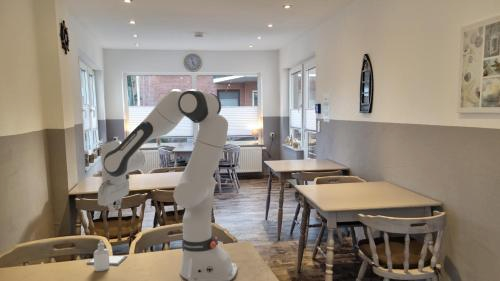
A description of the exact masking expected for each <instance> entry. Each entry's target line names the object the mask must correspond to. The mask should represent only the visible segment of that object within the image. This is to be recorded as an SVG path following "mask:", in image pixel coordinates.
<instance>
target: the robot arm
mask: <svg viewBox="0 0 500 281" xmlns="http://www.w3.org/2000/svg"><path fill="white" fill-rule="evenodd" d="M221 110H222V102H221V100H220V99H219V97H218V96H217V95H216V94H214V93H212V92H208V91H206V90H203V89H202V90H201V89H195V88H193V89H192V88H191V89H187V90H185V91H182V90H180V89H175V88H174V89H171V91H169V92H168V93H167V94H166V95H164V97H162V98H161V99H160V100H159V102H158V103H157V104H156V105H155V107H154V108H153V109H152V110H151V112H150V113H149V114H148V115H147V116H146V117H145V118H144V119H143V120H142V121H141V123H140V124H138V125H137V126H136V127H134V129H133V130H132V131H130V133H129V134H128V135H127V137H126V138H124V140H123V141H122V140H119V139H118V140H117V139H116V140H110V141H105V142H104V143H102V145H101V150H100V163H101V165H102V170H101V181H102V182H101V183H100V184H101V185H100V186H99V188H98V191H97V204H98V205H99V206H107V207H108V211H109V213H114V212H115V211H116V210H119V209H121V208H122V207H121V206H122V205H121V204H122V200H123V197H125V196H128V195H129V193H130V174H129V173H131V172H132V173H133V172H136V171H138V170H140V169H141V168H143V166H144V164H145V155H144V153H143V152H142V150H140V148H142V147H143V146H144V145H145V144H146V143H148V142H149V141H152V140H153V139H157V138H160V137H163V136H166V135H168V134H169V133H171V132H172V131H173V130H174V129H175V128H176V127H177V126H178V125H179V123H180V122H181V121H182V120H183V119H184V117H186V118H188V119H189V120H190V121H192V122H193V123H195V124H198V132H197V136H196V139H195V142H194V146H193V147H192V150H191V151H192V152H191V154H190V158H189V160H188V162H187V164H186V166H185V169H184V170H183V172H182V175H181V176H180V179H179V181H178V183H177V185H176V186H175V187H174V190H173V199H174V202H175V203H176V204H177V206H179V207H181V208H183V209H185V210H184V214H183V216H182V235H183V236H182V240H181V249H182V252H183V253H182V261H181V269H180V272H179V275H180V276H181V277H182V278H183V279H186V280H187V281H232V279H234V278H235V277H236V275H237V272H238V266H237V264H236V263H235V262H232V259H231V256H230V254H229V252H228V251H226V250H224V249H223V248H221V246H219V245H218V244H217V240H218V238H217V236H213V234H212V212H213V204H214V196H215V195H214V193H215V189H216V179H215V177H214V174H215V172H216V170H217V169H218V167H219V164H220V161H221V157H222V155H223V151H224V149H225V145H226V140H227V136H228V130H229V122H228V119H226V117H224V116H223V115H221V114H220V113H221ZM114 202H115V204H114Z"/></svg>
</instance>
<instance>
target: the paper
mask: <svg viewBox="0 0 500 281" xmlns="http://www.w3.org/2000/svg"><path fill="white" fill-rule="evenodd" d="M125 256H126V255H109V263H118V262H119V261H120V260H122V259H123V258H124V257H125ZM92 259H93V258H92ZM90 260H91V259H90ZM90 260H89V261H90ZM90 262H93V263H94V259H93V260H91V261H90Z"/></svg>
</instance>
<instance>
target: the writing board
mask: <svg viewBox="0 0 500 281" xmlns="http://www.w3.org/2000/svg"><path fill="white" fill-rule="evenodd" d="M124 256H125V257H124V258H123V259H122V260H120V261H119V262H118V263H109V266H120V264H121V263H123V262H124V261H125V260H126V258H128V256H127V255H124ZM93 259H94V257H93V258H91V259H90V260H88V261H87V262H86V265H92V264H94V263H93V262H90V261H91V260H93Z"/></svg>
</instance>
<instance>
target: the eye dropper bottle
mask: <svg viewBox="0 0 500 281" xmlns="http://www.w3.org/2000/svg"><path fill="white" fill-rule="evenodd" d="M109 256H110V251H109V249H108V248H105V242H103V240H102V239H100V240H99V243H98V244H97V249H96V250H95V251H94V252H93V258H94V265H93V268H94V272H104V271H107V270H109V269H110V265H109Z"/></svg>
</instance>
